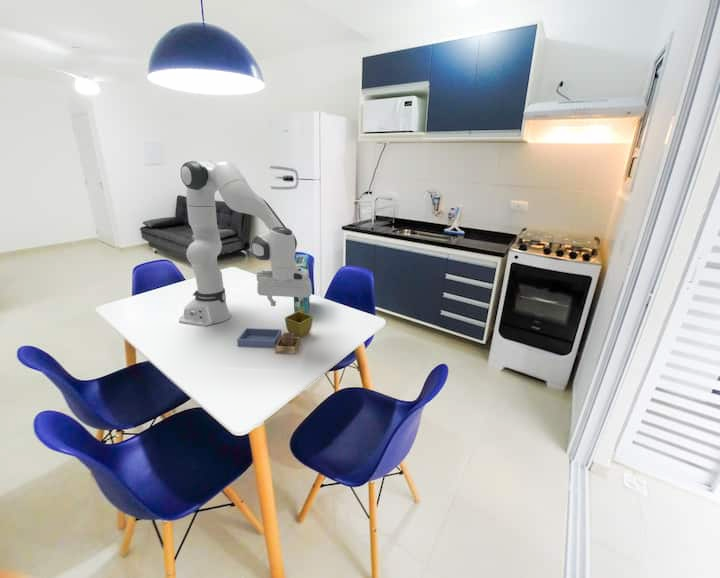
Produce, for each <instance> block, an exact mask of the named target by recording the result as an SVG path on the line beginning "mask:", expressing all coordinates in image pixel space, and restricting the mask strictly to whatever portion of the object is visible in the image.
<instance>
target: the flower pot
mask: <svg viewBox="0 0 720 578" xmlns="http://www.w3.org/2000/svg"><path fill="white" fill-rule="evenodd" d="M313 319H314V317H313V315H312V314H305V313H302V312H299V311H298V312H295V313H294V312H293V313H292V314H289V315H287V316H285V317H284V320H285V321H284V322H285V328H286V329H287V331H288V332H287V333H294V337H300V339H302V338H304V337H305V336H308V334H309V333H310V331H311V329H312V325H313Z"/></svg>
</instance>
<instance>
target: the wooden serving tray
mask: <svg viewBox="0 0 720 578" xmlns="http://www.w3.org/2000/svg"><path fill="white" fill-rule="evenodd" d="M282 336H283V335H282ZM282 336H281V337H280V338H279V340H278V342H277V344H276V346H275V348H274V350H275V352H274V353H275V354H278V355H279V354H281V355H297V354H298V351H299V349H300V346H301V342H302V341H301V338H300V337H294V345H295V346H294V347H291V346H282Z"/></svg>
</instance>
